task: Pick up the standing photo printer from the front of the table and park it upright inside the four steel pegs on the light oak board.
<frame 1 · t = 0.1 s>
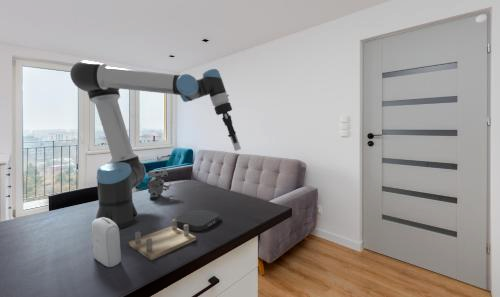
hand: (237, 148, 112), 28 cm above the kitchen island, fingers open, 13 cm apart
peg board: (163, 242, 80), on the kitchen island
photo printer: (107, 260, 70), on the kitchen island
figurine: (159, 197, 131), on the kitchen island
media streaming box: (197, 223, 97), on the kitchen island
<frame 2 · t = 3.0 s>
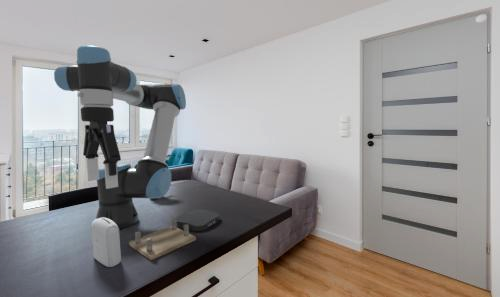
hand: (102, 183, 68), 23 cm above the kitchen island, fingers open, 13 cm apart
nothing on the kitchen island moved.
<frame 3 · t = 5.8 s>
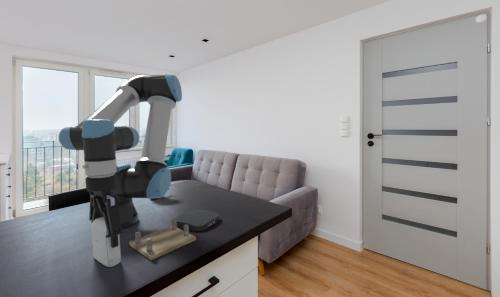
hand: (106, 250, 70), 3 cm above the kitchen island, fingers closed on photo printer, 10 cm apart
photo printer: (107, 260, 70), on the kitchen island, touching gripper
everything else where it was.
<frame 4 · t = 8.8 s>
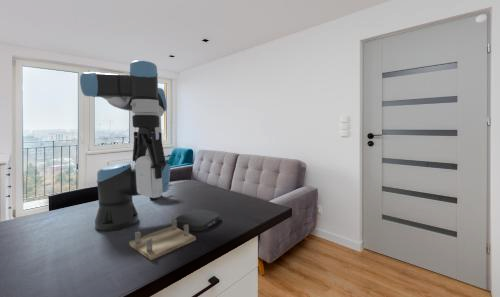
hand: (149, 185, 76), 20 cm above the kitchen island, fingers closed on photo printer, 10 cm apart
photo printer: (149, 195, 76), point 17 cm above the kitchen island, touching gripper
everything else where it was.
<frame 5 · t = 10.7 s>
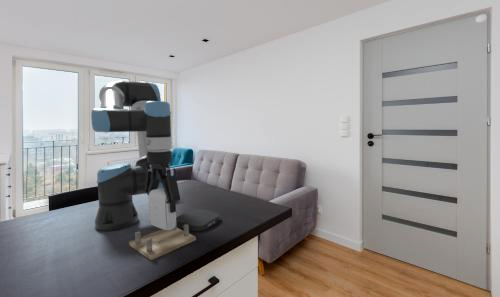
hand: (162, 217, 79), 9 cm above the kitchen island, fingers closed on photo printer, 10 cm apart
photo printer: (162, 226, 80), point 6 cm above the kitchen island, touching gripper
everything else where it was.
when the fingers open (5 cm above the kitchen island, at t = 12.3 s): photo printer drops 1 cm, resting on peg board.
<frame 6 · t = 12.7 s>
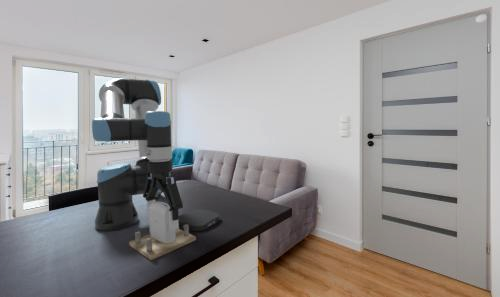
hand: (162, 223, 80), 6 cm above the kitchen island, fingers open, 13 cm apart
photo printer: (162, 239, 80), point 1 cm above the kitchen island, touching peg board
everything else where it was.
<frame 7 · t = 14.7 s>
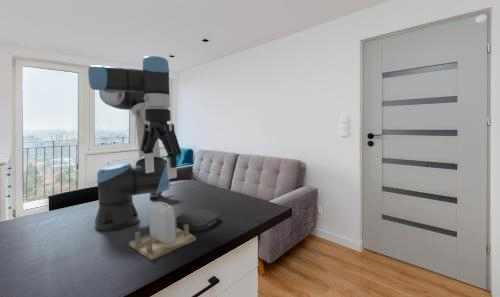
hand: (160, 175, 78), 23 cm above the kitchen island, fingers open, 13 cm apart
nothing on the kitchen island moved.
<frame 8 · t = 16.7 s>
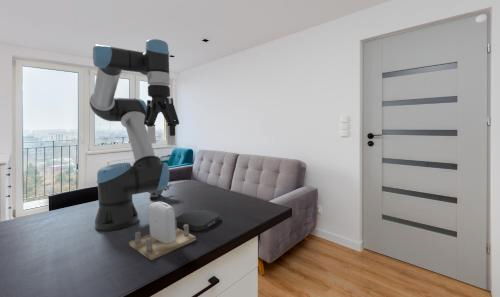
hand: (161, 144, 90), 32 cm above the kitchen island, fingers open, 13 cm apart
nothing on the kitchen island moved.
at the end: photo printer 0.3 cm off-centre on the peg board, point 1.0 cm above the peg board's base; photo printer tilted 0°; the gripper is holding nothing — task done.
